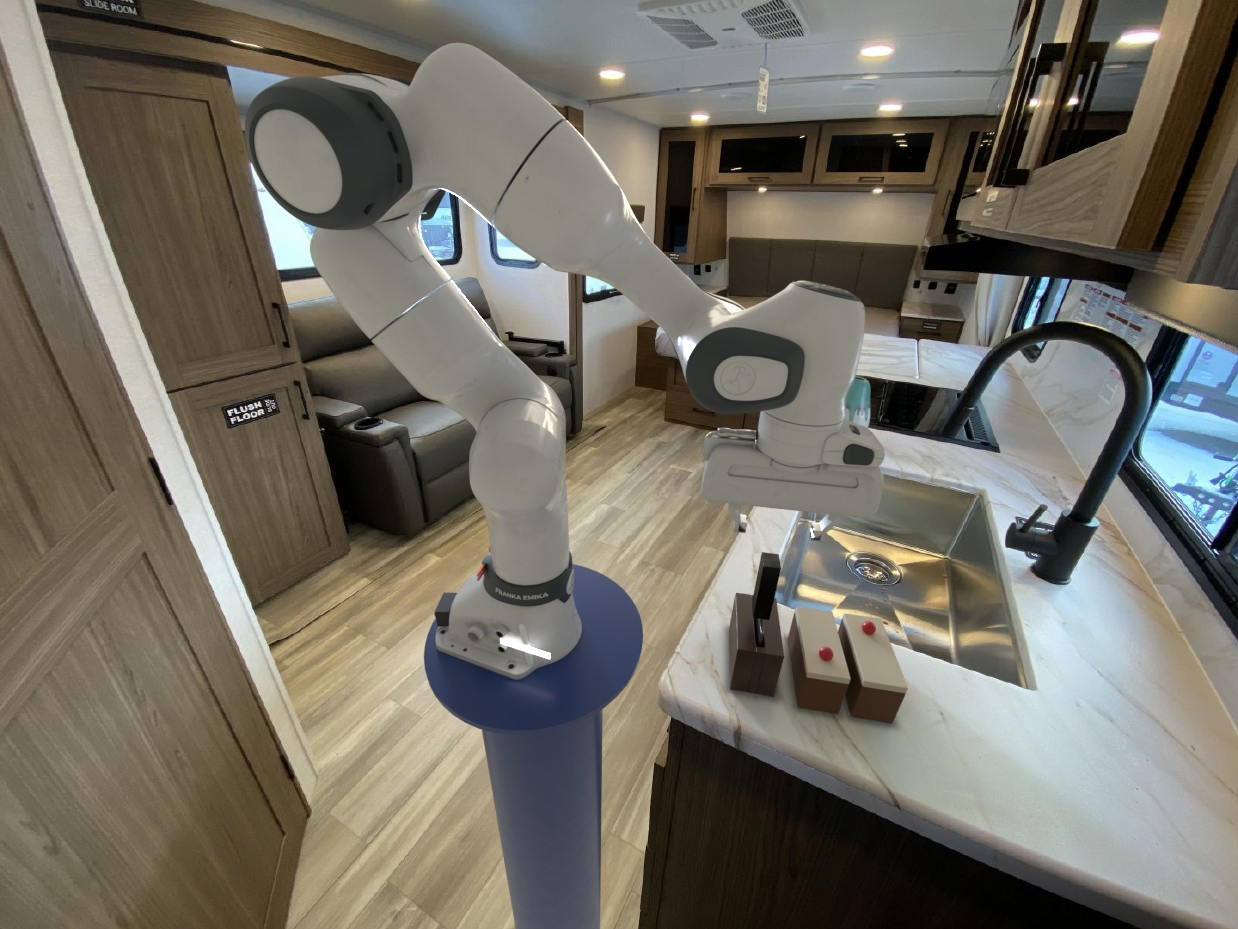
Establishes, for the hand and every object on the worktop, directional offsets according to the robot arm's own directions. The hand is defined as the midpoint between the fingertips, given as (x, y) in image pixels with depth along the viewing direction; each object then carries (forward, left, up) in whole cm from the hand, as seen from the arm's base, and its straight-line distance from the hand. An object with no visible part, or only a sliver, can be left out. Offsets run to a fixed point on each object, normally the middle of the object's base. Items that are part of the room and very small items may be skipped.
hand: (777, 534), depth 62 cm
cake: (+12, -1, -23) cm, 26 cm away
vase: (+32, +91, -23) cm, 99 cm away
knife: (0, 0, -23) cm, 23 cm away
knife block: (0, 0, -23) cm, 23 cm away
